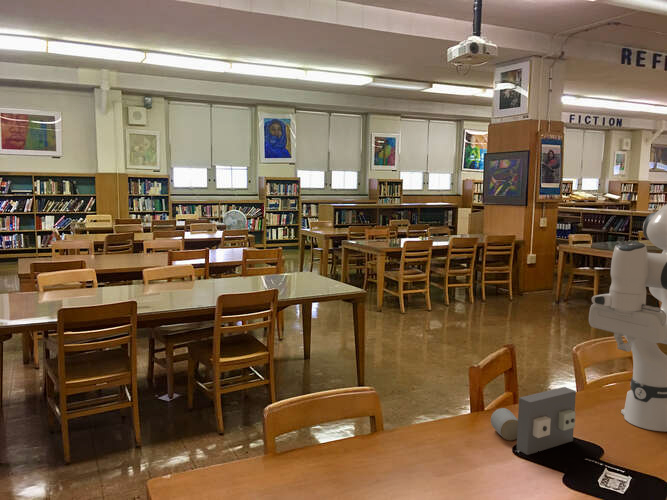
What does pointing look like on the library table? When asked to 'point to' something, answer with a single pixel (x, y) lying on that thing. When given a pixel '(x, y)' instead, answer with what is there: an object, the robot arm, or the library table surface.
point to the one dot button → (541, 426)
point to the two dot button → (566, 419)
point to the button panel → (549, 407)
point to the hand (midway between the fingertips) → (624, 350)
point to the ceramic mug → (505, 423)
